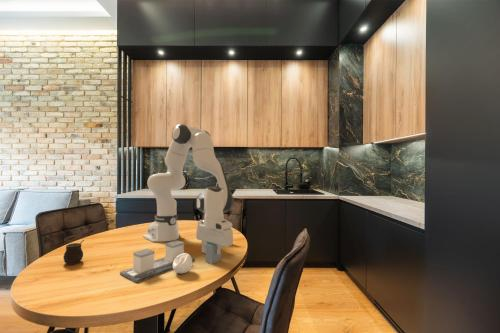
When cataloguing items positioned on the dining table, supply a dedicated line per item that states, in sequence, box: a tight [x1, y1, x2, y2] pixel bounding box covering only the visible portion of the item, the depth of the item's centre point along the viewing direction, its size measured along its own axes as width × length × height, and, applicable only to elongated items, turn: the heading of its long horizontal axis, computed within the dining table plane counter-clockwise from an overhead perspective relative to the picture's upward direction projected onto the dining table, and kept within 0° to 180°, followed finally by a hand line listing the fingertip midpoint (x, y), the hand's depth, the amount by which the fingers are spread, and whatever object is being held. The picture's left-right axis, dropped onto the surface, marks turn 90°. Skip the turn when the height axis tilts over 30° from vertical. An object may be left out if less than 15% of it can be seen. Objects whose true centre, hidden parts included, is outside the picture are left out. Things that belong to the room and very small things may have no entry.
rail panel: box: [119, 256, 195, 284], centre depth 108 cm, size 12×28×2 cm, turn 144°
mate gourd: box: [63, 239, 85, 265], centre depth 111 cm, size 7×8×10 cm
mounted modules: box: [132, 240, 185, 273], centre depth 108 cm, size 5×21×7 cm, turn 144°
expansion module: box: [205, 243, 222, 265], centre depth 116 cm, size 4×6×8 cm, turn 144°
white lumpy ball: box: [172, 252, 193, 275], centre depth 103 cm, size 8×8×8 cm
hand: (213, 252), depth 116 cm, fingers closed on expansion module, 4 cm apart
